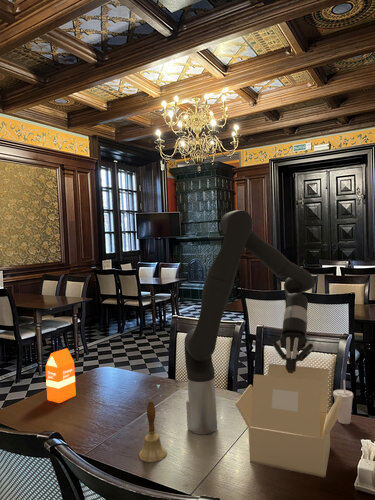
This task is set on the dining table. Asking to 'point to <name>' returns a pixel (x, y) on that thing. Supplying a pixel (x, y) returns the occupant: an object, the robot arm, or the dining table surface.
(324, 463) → the carton
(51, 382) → the orange juice
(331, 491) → the dining table surface
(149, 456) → the hand bell
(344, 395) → the smoothie
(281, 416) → the front flap
